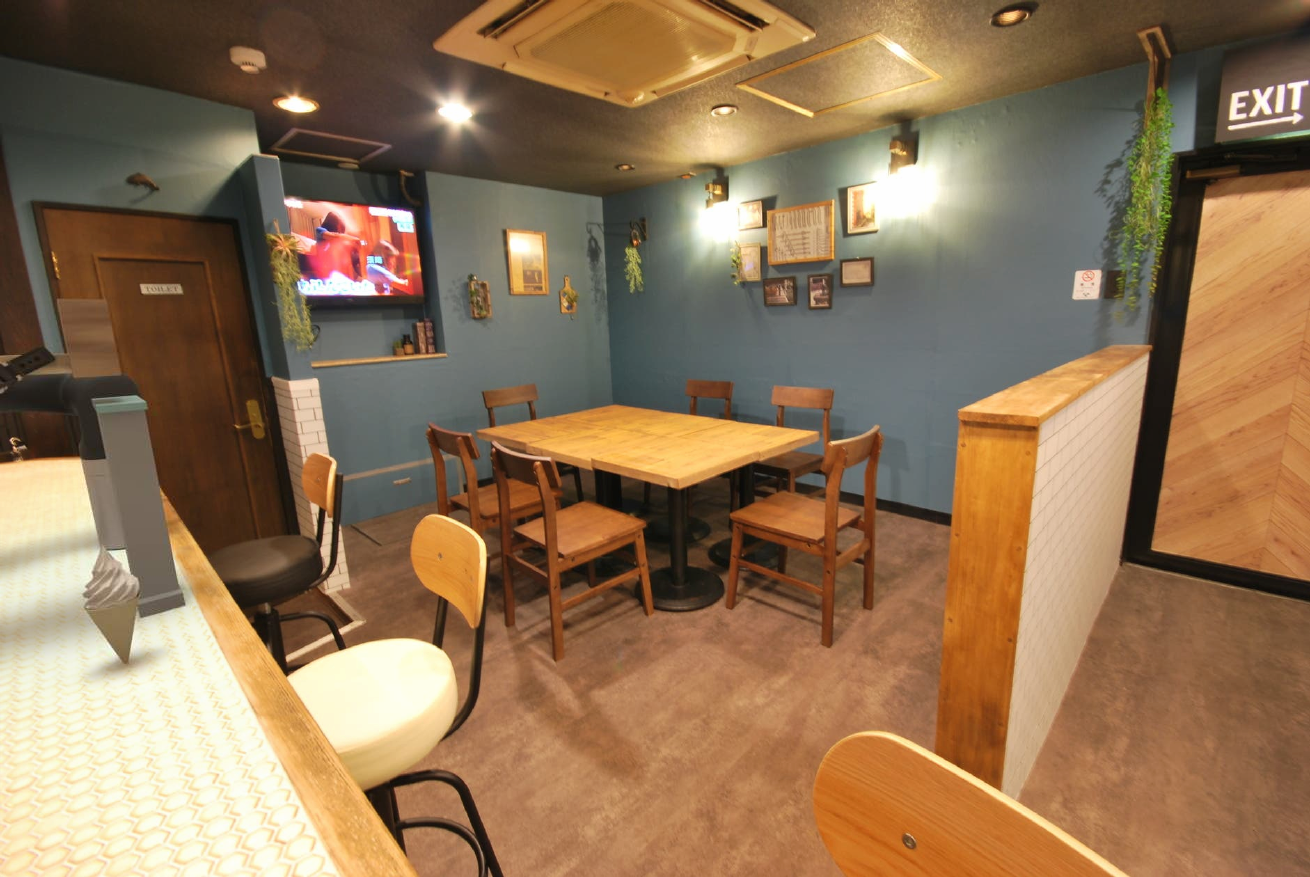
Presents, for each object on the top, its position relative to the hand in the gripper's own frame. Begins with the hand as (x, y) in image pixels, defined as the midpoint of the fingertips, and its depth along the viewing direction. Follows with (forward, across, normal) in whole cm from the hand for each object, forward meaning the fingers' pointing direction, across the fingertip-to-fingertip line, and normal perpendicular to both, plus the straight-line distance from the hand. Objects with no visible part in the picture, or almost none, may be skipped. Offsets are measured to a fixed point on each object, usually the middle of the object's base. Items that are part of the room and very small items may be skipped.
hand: (49, 352), depth 77 cm
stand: (-13, 0, +35) cm, 37 cm away
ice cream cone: (-18, -21, +33) cm, 43 cm away
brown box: (-2, 0, +3) cm, 3 cm away
